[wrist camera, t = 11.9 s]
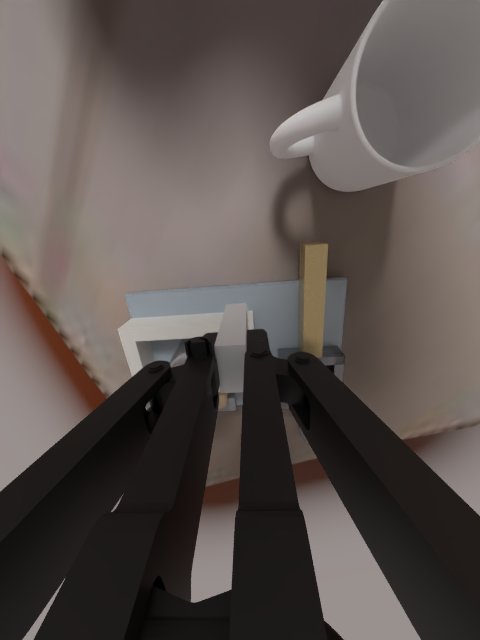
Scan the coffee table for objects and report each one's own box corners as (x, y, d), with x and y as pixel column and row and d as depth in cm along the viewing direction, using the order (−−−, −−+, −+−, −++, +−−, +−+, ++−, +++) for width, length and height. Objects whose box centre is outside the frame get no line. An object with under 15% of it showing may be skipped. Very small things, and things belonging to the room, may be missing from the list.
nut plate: (129, 292, 27) (68, 328, 18) (343, 276, 26) (396, 307, 16) (159, 402, 33) (124, 471, 24) (333, 394, 32) (368, 466, 22)
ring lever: (275, 245, 23) (277, 247, 21) (346, 239, 23) (356, 241, 21) (278, 395, 30) (281, 409, 28) (333, 393, 30) (340, 406, 27)
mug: (270, 209, 23) (285, 200, 14) (257, 105, 20) (265, 2, 11) (398, 183, 22) (510, 154, 13) (405, 68, 19) (560, -86, 10)
